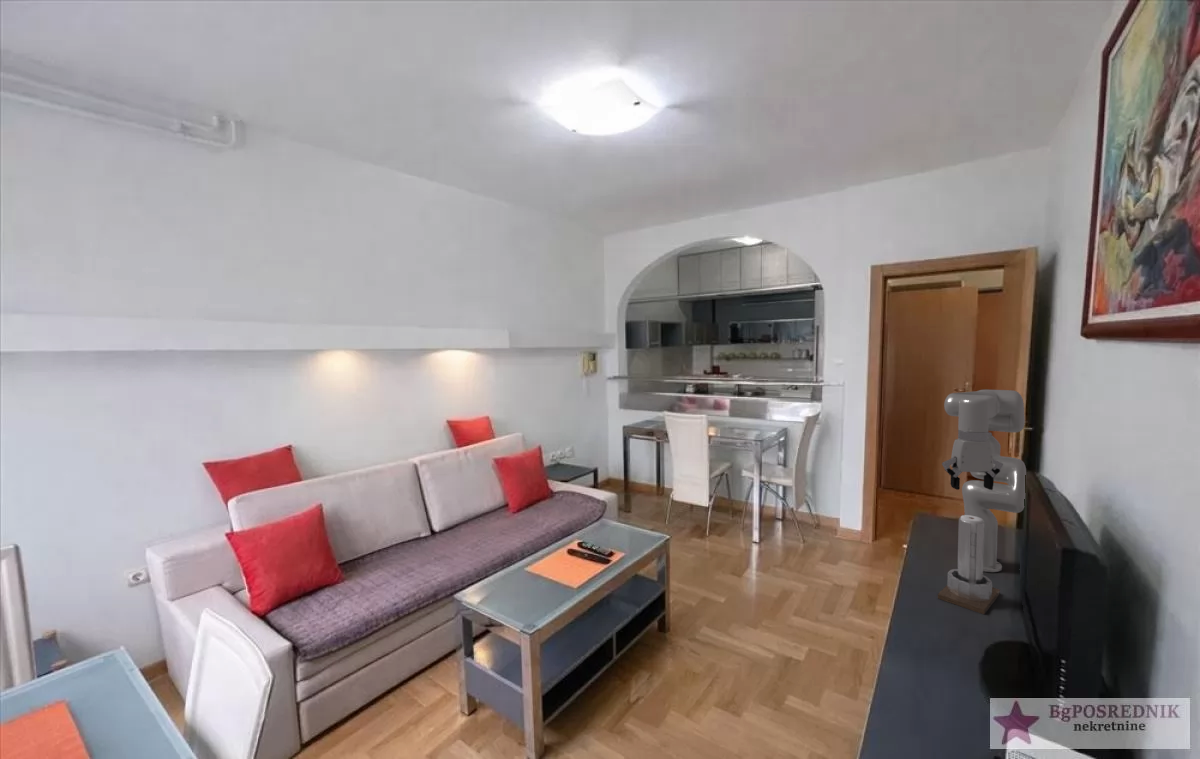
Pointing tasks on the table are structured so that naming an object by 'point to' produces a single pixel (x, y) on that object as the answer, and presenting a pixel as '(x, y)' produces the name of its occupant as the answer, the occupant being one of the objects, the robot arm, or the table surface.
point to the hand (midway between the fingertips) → (971, 488)
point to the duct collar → (969, 593)
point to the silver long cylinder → (970, 549)
